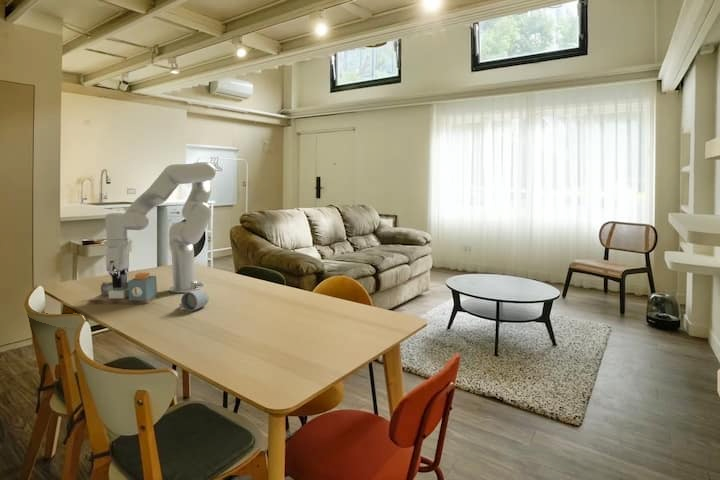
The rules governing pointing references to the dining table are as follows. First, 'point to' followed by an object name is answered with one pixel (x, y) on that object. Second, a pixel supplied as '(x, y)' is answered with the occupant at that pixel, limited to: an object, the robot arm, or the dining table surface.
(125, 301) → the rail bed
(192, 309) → the ceramic mug
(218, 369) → the dining table surface
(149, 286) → the gauge cabinet
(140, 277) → the button
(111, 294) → the grey stepped block
